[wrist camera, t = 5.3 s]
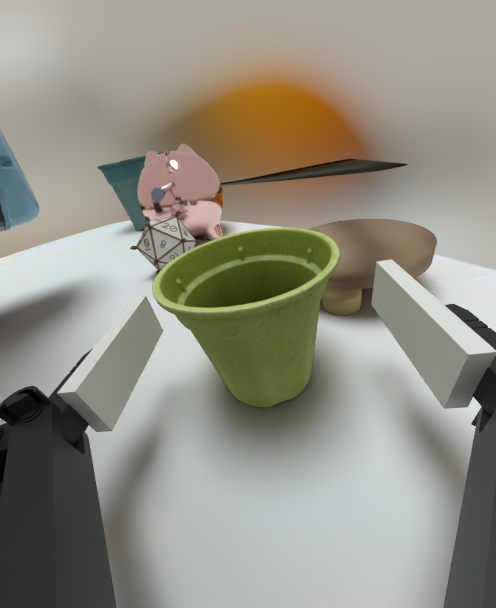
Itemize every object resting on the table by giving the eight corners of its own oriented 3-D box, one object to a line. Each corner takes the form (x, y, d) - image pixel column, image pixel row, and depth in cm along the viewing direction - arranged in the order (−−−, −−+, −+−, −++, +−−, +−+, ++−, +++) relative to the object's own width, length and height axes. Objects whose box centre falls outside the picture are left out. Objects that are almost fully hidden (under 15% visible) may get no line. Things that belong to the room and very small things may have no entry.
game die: (195, 284, 39) (218, 225, 36) (168, 294, 31) (194, 220, 28) (149, 260, 40) (167, 201, 37) (110, 265, 32) (129, 189, 29)
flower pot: (169, 229, 59) (141, 154, 50) (115, 237, 63) (81, 169, 54) (194, 211, 72) (175, 149, 63) (147, 219, 76) (124, 162, 68)
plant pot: (175, 404, 16) (110, 296, 11) (242, 319, 22) (219, 228, 18) (313, 467, 11) (302, 333, 7) (348, 338, 18) (354, 223, 13)
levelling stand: (300, 328, 20) (296, 281, 17) (286, 266, 30) (282, 231, 27) (458, 309, 18) (477, 254, 16) (387, 250, 28) (393, 211, 26)
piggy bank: (222, 218, 58) (203, 140, 49) (239, 238, 43) (216, 130, 34) (160, 235, 56) (129, 156, 47) (154, 261, 41) (107, 154, 32)
